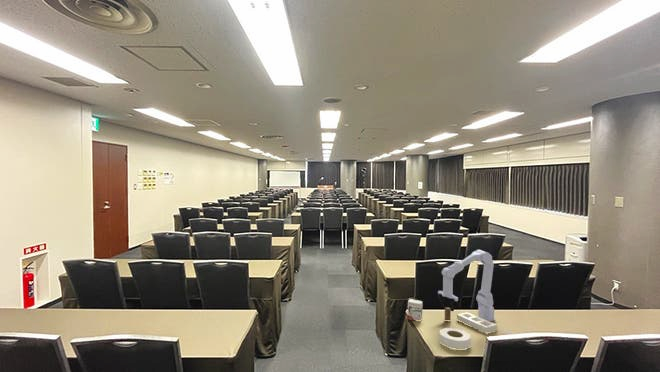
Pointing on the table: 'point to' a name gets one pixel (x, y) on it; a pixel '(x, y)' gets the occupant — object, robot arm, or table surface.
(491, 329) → the well block
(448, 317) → the walnut peg
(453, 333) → the roll of tape
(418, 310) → the ink box
